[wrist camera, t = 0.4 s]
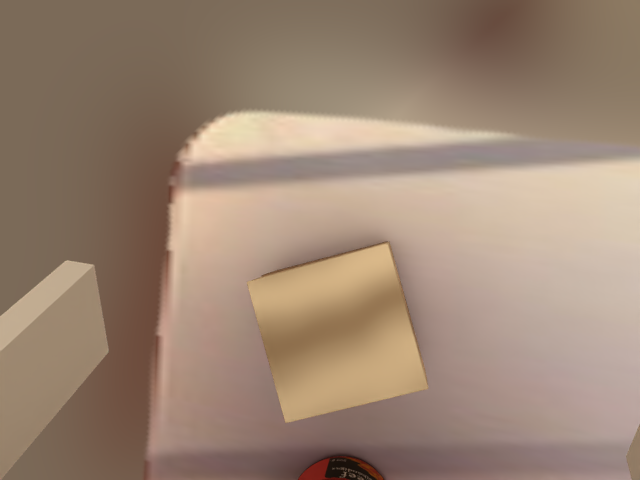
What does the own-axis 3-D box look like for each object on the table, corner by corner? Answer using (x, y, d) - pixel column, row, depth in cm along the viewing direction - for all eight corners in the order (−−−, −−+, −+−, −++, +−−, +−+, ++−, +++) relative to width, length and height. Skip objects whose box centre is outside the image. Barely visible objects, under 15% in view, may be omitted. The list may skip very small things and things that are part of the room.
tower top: (424, 369, 41) (428, 388, 36) (299, 400, 42) (285, 423, 37) (389, 241, 41) (387, 243, 36) (264, 275, 42) (246, 282, 37)
